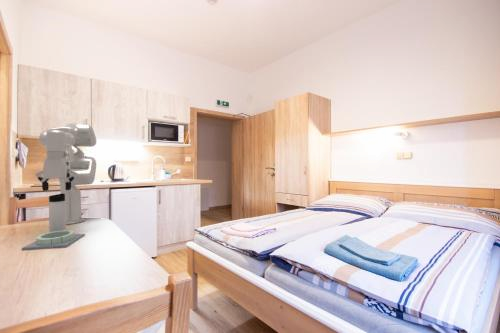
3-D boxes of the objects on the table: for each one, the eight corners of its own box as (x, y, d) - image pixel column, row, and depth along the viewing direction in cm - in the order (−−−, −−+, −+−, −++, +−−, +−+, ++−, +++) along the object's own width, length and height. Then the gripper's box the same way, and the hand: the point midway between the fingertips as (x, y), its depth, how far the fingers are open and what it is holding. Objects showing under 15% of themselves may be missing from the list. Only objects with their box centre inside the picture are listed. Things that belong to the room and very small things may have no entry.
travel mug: (69, 232, 120) (68, 193, 120) (57, 236, 114) (57, 195, 113) (58, 232, 121) (57, 193, 120) (45, 236, 114) (45, 195, 114)
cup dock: (47, 237, 112) (46, 230, 112) (84, 235, 115) (84, 228, 115) (21, 250, 96) (21, 241, 96) (66, 247, 99) (66, 239, 99)
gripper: (80, 156, 121) (80, 189, 122) (41, 156, 118) (41, 190, 118) (72, 155, 114) (72, 190, 114) (30, 155, 111) (31, 191, 111)
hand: (57, 190), depth 116 cm, fingers open, 9 cm apart
